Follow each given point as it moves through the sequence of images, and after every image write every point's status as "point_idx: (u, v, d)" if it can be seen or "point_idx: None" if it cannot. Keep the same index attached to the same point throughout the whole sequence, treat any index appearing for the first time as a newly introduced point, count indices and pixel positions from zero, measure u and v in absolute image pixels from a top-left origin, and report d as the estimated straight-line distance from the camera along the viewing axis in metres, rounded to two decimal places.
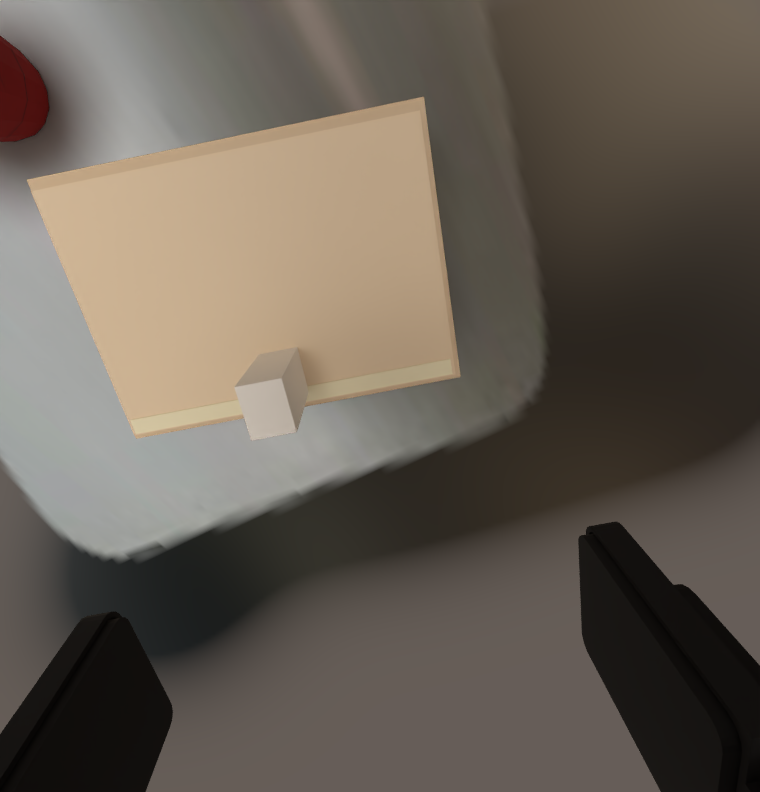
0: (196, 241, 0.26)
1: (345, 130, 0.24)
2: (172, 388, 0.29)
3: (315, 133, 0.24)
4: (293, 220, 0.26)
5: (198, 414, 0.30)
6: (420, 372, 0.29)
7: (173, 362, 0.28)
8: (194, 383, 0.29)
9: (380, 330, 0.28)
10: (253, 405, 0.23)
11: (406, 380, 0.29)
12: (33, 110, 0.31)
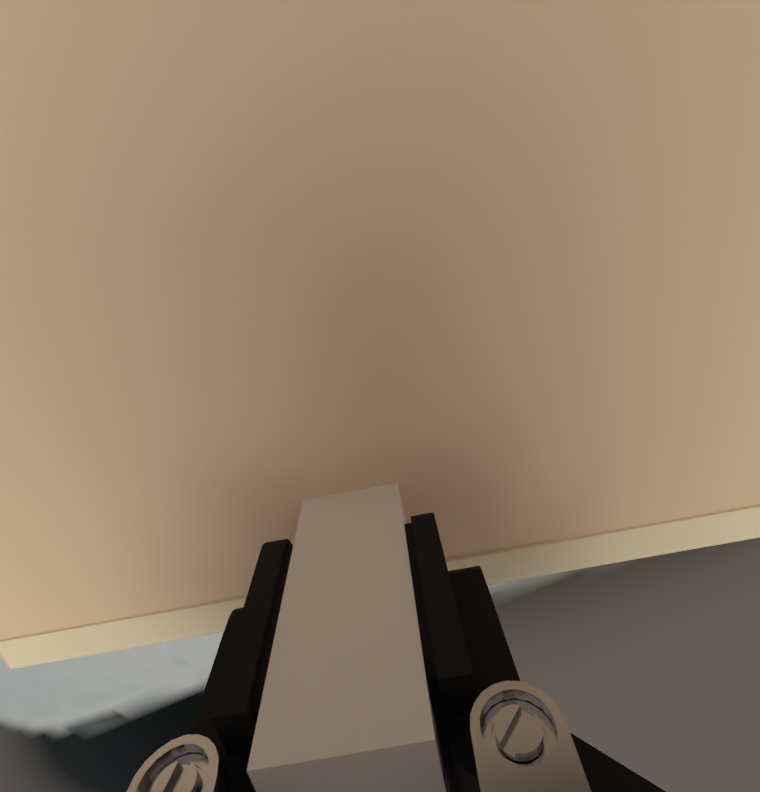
0: (132, 212, 0.09)
1: None
2: (91, 575, 0.12)
3: None
4: (416, 150, 0.09)
5: (156, 628, 0.13)
6: (688, 535, 0.12)
7: (88, 520, 0.11)
8: (143, 564, 0.12)
9: (609, 442, 0.11)
10: None
11: (649, 549, 0.12)
12: None
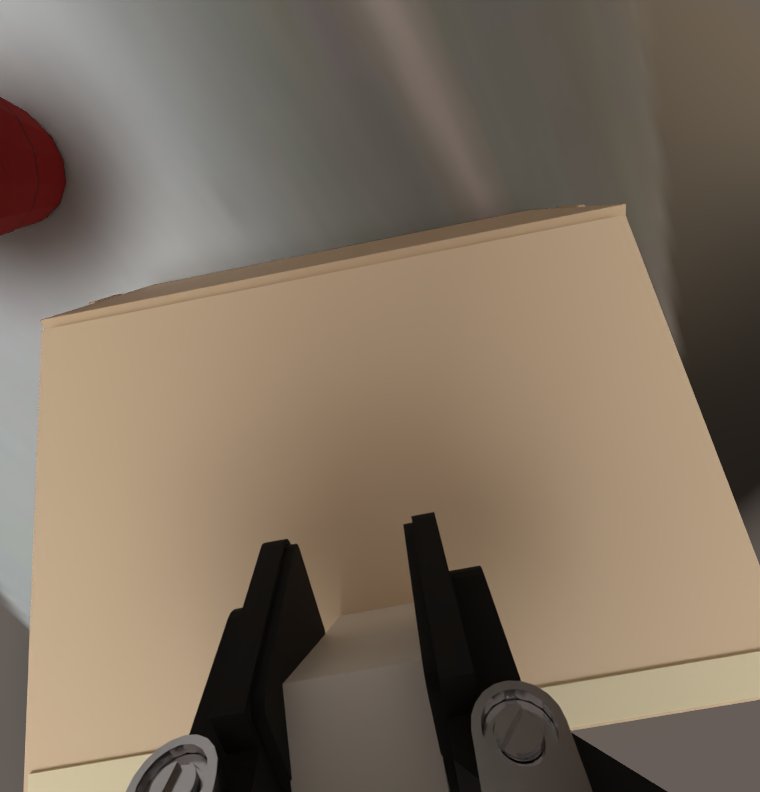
0: (262, 396, 0.15)
1: (512, 242, 0.16)
2: (144, 691, 0.13)
3: (467, 247, 0.16)
4: (427, 362, 0.15)
5: None
6: (717, 681, 0.12)
7: (163, 627, 0.14)
8: (192, 681, 0.13)
9: (602, 568, 0.13)
10: (329, 759, 0.07)
11: (683, 700, 0.12)
12: (46, 193, 0.23)
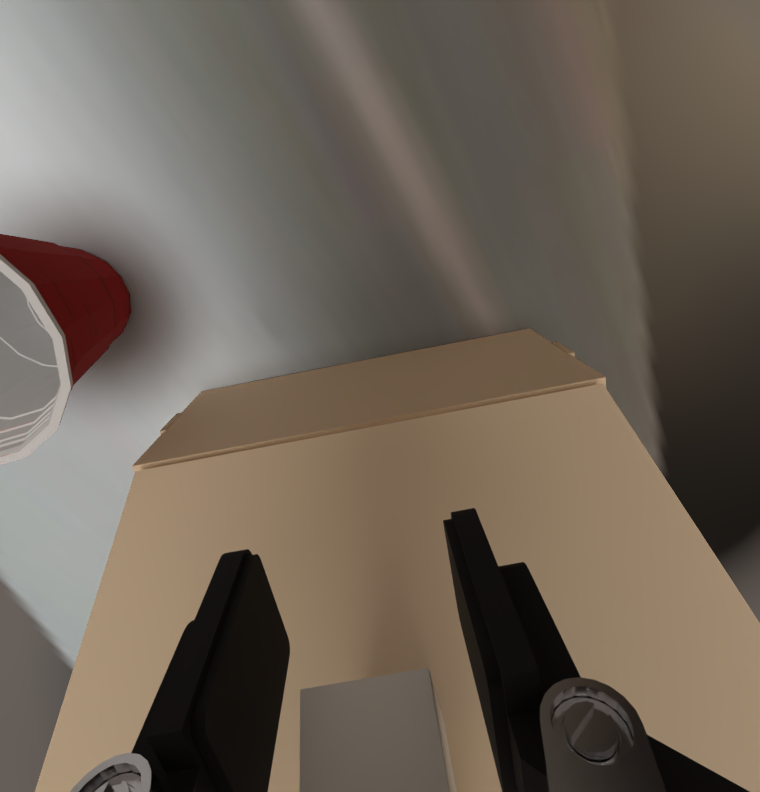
0: (303, 521, 0.18)
1: (513, 403, 0.20)
2: None
3: (476, 408, 0.20)
4: (446, 494, 0.18)
5: None
6: None
7: None
8: None
9: (633, 691, 0.13)
10: (337, 762, 0.08)
11: None
12: (118, 328, 0.27)
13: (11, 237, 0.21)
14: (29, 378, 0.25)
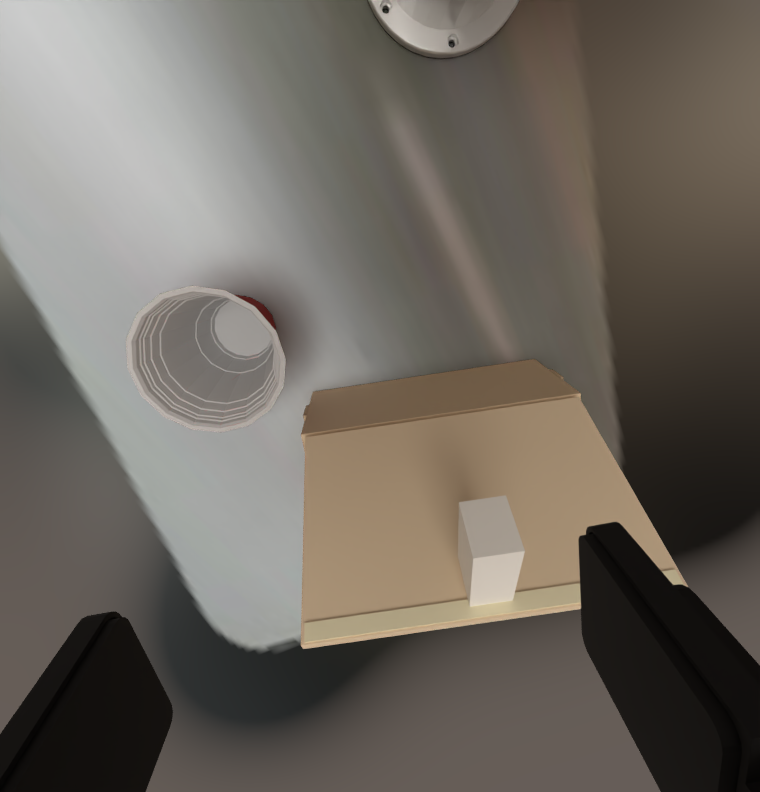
0: (413, 465, 0.32)
1: (527, 406, 0.35)
2: (361, 588, 0.27)
3: (506, 408, 0.35)
4: (491, 452, 0.32)
5: (382, 621, 0.25)
6: None
7: (369, 560, 0.28)
8: (385, 583, 0.27)
9: None
10: (476, 520, 0.22)
11: None
12: None
13: (239, 297, 0.35)
14: (222, 379, 0.39)
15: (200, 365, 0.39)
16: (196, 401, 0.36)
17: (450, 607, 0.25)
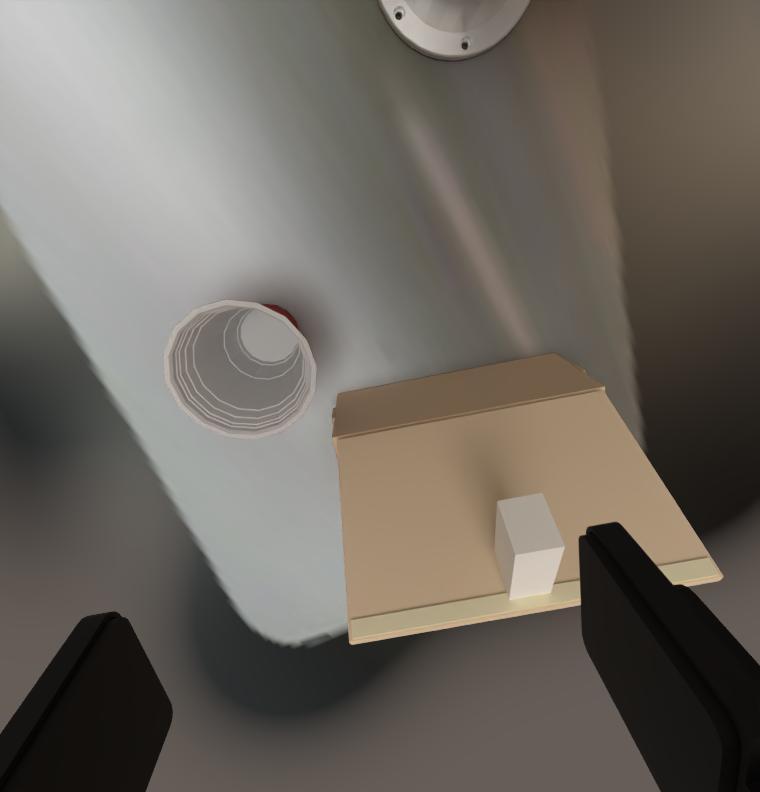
0: (444, 463, 0.33)
1: (553, 401, 0.36)
2: (403, 585, 0.28)
3: (532, 404, 0.36)
4: (520, 449, 0.33)
5: (426, 616, 0.26)
6: (678, 572, 0.26)
7: (409, 558, 0.29)
8: (426, 580, 0.28)
9: None
10: (516, 518, 0.23)
11: None
12: None
13: (267, 307, 0.36)
14: (252, 386, 0.40)
15: (230, 373, 0.40)
16: (230, 409, 0.37)
17: (490, 601, 0.26)
